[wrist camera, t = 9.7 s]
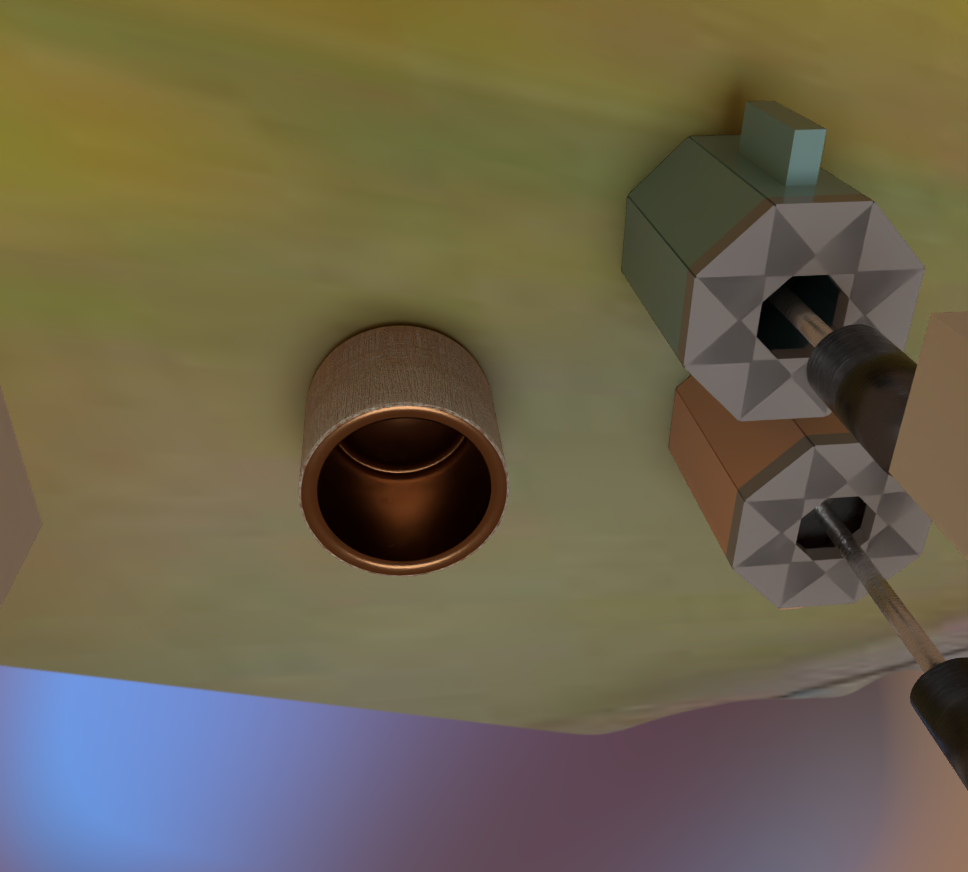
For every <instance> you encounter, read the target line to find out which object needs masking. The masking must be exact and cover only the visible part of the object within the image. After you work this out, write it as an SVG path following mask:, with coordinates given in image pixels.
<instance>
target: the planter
mask: <svg viewBox="0 0 968 872" xmlns="http://www.w3.org/2000/svg"><path fill="white" fill-rule="evenodd" d="M508 497H509V477H508V471H507V466H506V462H505V457H504V453H503V449H502V444H501V439H500V434H499V429H498V424H497V419H496V414H495V409H494V405H493V400H492V395H491V391H490V387H489V384H488V382H487V379H486V377H485V375H484V373H483V371H482V370H481V368H480V366H479V365H478V363H477V362H476V361H475V359H474V358H473V357H472V356H471V355H470V354H469V352H468V351H466V350H465V349H464V348H463V347H462V346H461V345H459V344H458V343H457V342H455V341H454V340H452V339H450V338H448V337H447V336H445V335H443V334H440V333H438V332H435V331H433V330H429V329H426V328H421V327H416V326H407V325H394V326H384V327H379V328H374V329H371V330H368V331H365V332H362V333H360V334H357V335H355V336H353V337H351V338H350V339H348V340H346V341H345V342H343V343H342V344H340V345H339V346H338V347H337V348H335V349H334V350H333V351H332V352H331V353H330V354H329V355H328V356H327V357H326V358H325V360H324V361H323V362H322V364H321V365H320V367H319V368H318V370H317V372H316V374H315V376H314V378H313V380H312V382H311V385H310V388H309V391H308V395H307V401H306V410H305V421H304V434H303V446H302V458H301V468H300V477H299V503H300V509H301V512H302V516H303V518H304V521H305V523H306V525H307V527H308V529H309V530H310V532H311V534H312V535H313V536H314V538H315V539H316V540H317V541H318V542H319V544H320V545H321V546H322V547H323V548H324V549H325V550H327V551H328V552H329V553H330V554H332V555H333V556H334V557H336V558H337V559H339V560H341V561H342V562H344V563H346V564H348V565H350V566H352V567H355V568H357V569H360V570H363V571H366V572H370V573H374V574H378V575H385V576H417V575H423V574H428V573H432V572H436V571H439V570H442V569H445V568H448V567H450V566H452V565H455V564H457V563H458V562H460V561H462V560H464V559H465V558H467V557H469V556H470V555H471V554H473V553H474V552H475V551H477V550H478V549H479V548H480V547H481V546H482V545H483V544H485V542H486V541H487V540H488V539H489V538H490V537H491V536H492V534H493V533H494V532H495V530H496V529H497V527H498V525H499V524H500V522H501V520H502V518H503V515H504V513H505V510H506V507H507V503H508Z"/></svg>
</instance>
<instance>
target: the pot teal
mask: <svg viewBox="0 0 968 872" xmlns="http://www.w3.org/2000/svg"><path fill="white" fill-rule="evenodd" d="M826 130H827V129H825V128H823V127H822V126H820V125H818V124H816V123H814V122H812V121H810V120H809V119H807V118H805V117H803V116H801V115H799V114H797V113H796V112H794V111H792V110H790V109H788V108H786V107H784V106H783V105H781V104H779V103H777V102H775V101H746V103H745V110H744V118H743V125H742V132H741V135H718V136H690V138H689V137H688V138H687V139H686V140H685V141H683V142H682V143H681V144H680V145H679V146H678V147H677V148H676V149H675V150H674V151H673V152H672V153H671V154H670V155H669V156H668V157H667V158H666V159H665V160H664V161H663V162H662V163H661V164H660V165H659V166H658V167H657V168H655V169H654V170H653V171H652V172H651V173H650V174H649V175H648V176H647V177H646V178H645V179H644V180H643V181H642V182H641V183H640V184H639V185H638V186H637V187H636V188H635V189H634V190H633V191H632V192H631V193H630V194H628V195H629V196H628V197H627V207H626V219H625V232H624V244H623V256H622V268H621V271H622V273H623V274H624V276H625V278H626V279H627V281H628V282H629V284H630V285H631V287H632V288H633V290H634V291H635V293H636V294H637V296H638V297H639V299H640V301H641V302H642V304H643V305H644V307H645V308H646V310H647V311H648V313H649V314H650V316H651V317H652V319H653V321H654V322H655V324H656V325H657V327H658V328H659V330H660V331H661V333H662V334H663V336H664V337H665V339H666V340H667V342H668V344H669V345H670V347H671V348H672V350H673V351H674V353H675V354H676V356H677V357H678V359H679V360H680V362H681V363H682V365H683V367H684V368H685V369H686V370H687V371H688V372H689V373H690V374H691V375H692V376H693V377H694V378H695V379H696V380H697V381H698V382H699V383H700V384H701V385H702V386H703V387H704V388H705V389H706V390H707V391H708V392H710V393H711V394H712V395H713V396H714V397H715V398H716V399H717V400H718V401H719V402H720V403H721V404H722V405H723V406H724V407H725V408H726V409H727V410H728V411H729V412H730V413H731V414H732V415H733V416H734V417H735V418H736V419H737V420H738V421H758V420H776V419H794V418H812V417H826V415H827V416H828V415H829V414H831V413H832V411H831V410H830V409H829V408H828V407H827V406H826V405H825V403H824V402H823V401H822V400H821V399H820V398H819V397H818V395H817V394H816V393H815V392H814V391H813V390H812V388H811V387H810V385H809V383H808V380H807V375H806V369H807V363H808V360H809V357H810V355H811V353H812V351H813V349H814V348H815V347H814V346H813V345H812V344H811V343H810V342H809V341H808V340H807V339H806V338H805V337H804V336H803V335H802V334H801V333H800V332H799V331H798V330H797V329H796V328H795V327H794V325H793V324H792V323H791V322H790V321H789V320H788V319H787V318H786V317H785V316H784V315H783V314H782V313H781V312H780V311H779V310H778V309H777V308H776V307H775V306H774V305H773V304H772V305H771V306H770V307H768V308H766V309H765V310H763V311H761V306H762V302H763V301H764V300H765V299H767V298H768V297H769V296H770V295H771V294H772V293H774V292H775V291H776V290H777V289H778V288H779V287H780V286H782V285H783V284H784V283H785V282H786V281H787V280H789V279H790V278H791V277H792V276H798V278H797V279H796V281H795V282H794V284H793V285H792V286H791V288H790V290H791V291H792V292H793V293H794V294H795V295H796V296H797V297H798V298H800V299H801V300H802V301H803V302H804V303H805V304H806V305H807V306H808V307H809V308H810V309H811V310H812V311H813V312H814V313H815V314H816V315H817V316H818V317H819V318H820V319H821V320H822V321H823V322H824V323H825V324H826V325H828V326H829V327H830V328H831V329H832V330H833V331H834V330H836V329H839V328H841V327H844V326H848V325H853V324H863V325H868V326H871V327H873V328H876V329H877V330H878V331H880V332H881V333H882V334H883V335H884V336H885V337H887V338H888V339H889V340H890V341H891V342H892V343H893V344H895V345H896V346H897V347H898V348H899V349H900V350H901V351H903V352H904V348H905V344H906V340H907V337H908V333H909V329H910V325H911V321H912V317H913V314H914V310H915V306H916V302H917V298H918V294H919V290H920V287H921V283H922V279H923V275H924V271H925V268H924V267H925V266H924V265H923V264H922V262H921V261H920V260H919V258H918V257H917V256H916V255H915V253H914V252H913V251H912V249H911V248H910V247H909V245H908V244H907V243H906V242H905V240H904V239H903V238H902V236H901V235H900V234H899V232H898V231H897V230H896V229H895V227H894V226H893V225H892V223H891V222H890V221H889V219H888V218H887V217H886V216H885V214H884V213H883V212H882V210H881V209H880V208H879V206H878V205H877V204H876V203H875V202H874V201H873V200H871V199H870V198H868V197H866V196H865V195H863V194H862V193H860V192H858V191H857V190H855V189H854V188H852V187H851V186H849V185H847V184H846V183H844V182H843V181H841V180H839V179H838V178H836V177H835V176H833V175H832V174H830V173H828V172H827V171H825V170H824V169H822V168H820V162H821V157H822V151H823V146H824V141H825V135H826Z"/></svg>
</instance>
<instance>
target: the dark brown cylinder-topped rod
mask: <svg viewBox="0 0 968 872" xmlns="http://www.w3.org/2000/svg"><path fill="white" fill-rule="evenodd" d="M797 278H798V276H792V277H791V278H790V279H789V280H787V281H786V282H785V283H784V284H783V285H782V286H780V287H779V288H778V289H777V290H776V291H775V292H774V293H772V294H771V295H770V296H769V297H768V298H767V299H765V300H764V301H763V302H762V306H761V311H763V310H765V309H766V308H768V307H770V306H771V305H772V304H773V305H774V306H775V307H776V308H777V309H778V310H779V311H780V312H781V313H782V314H783V315H784V316H785V317H786V318H787V319H788V320H789V321H790V322H791V323H792V324H793V325H794V327H795V328H796V329H797V330H798V331H799V332H800V333H801V334H802V335H803V336H804V337H805V338H806V339H807V340H808V341H809V342H810V343H811V344H812V345H813V346H814V347H815V348H814V349H813V351H812V353H811V355H810V357H809V360H808V363H807V369H806V375H807V380H808V383H809V385H810V387H811V388H812V390H813V391H814V392H815V393H816V394H817V395H818V397H819V398H820V399H821V400H822V401H823V402H824V403H825V405H826V406H827V407H828V408H829V409H830V410H831V411H832V412H833V414H834V415H835V416H836V417H837V418H838V419H839V420H840V422H841V423H842V424H843V425H844V426H845V427H846V428H847V430H848V431H849V432H850V433H851V434H852V435H853V436H854V438H855V439H856V440H857V441H858V442H859V443H860V444H861V446H862V447H863V448H864V449H865V450H866V451H867V452H868V454H869V455H870V456H871V457H872V458H873V459H874V460H875V462H876V463H877V464H878V465H879V466H880V467H881V468H882V470H883V471H884V472H886V473H887V474H888V475H890V476H892V475H891V474H890V473H889V468H890V464H891V461H892V457H893V453H894V450H895V446H896V442H897V438H898V435H899V431H900V427H901V424H902V420H903V416H904V412H905V409H906V405H907V401H908V398H909V394H910V390H911V386H912V383H913V379H914V375H915V372H916V368H917V364H916V363H915V362H914V361H913V360H912V359H910V358H909V357H908V356H907V355H906V354H905V353H904V352H903V351H901V350H900V349H899V348H898V347H897V346H896V345H895V344H893V343H892V342H891V341H890V340H889V339H888V338H887V337H885V336H884V335H883V334H882V333H881V332H880V331H878V330H877V329H876V328H873V327H871V326H868V325H863V324H853V325H848V326H844V327H841V328H839V329H836V330H834V331H833V330H832V329H831V328H830V327H829V326H828V325H826V324H825V323H824V322H823V321H822V320H821V319H820V318H819V317H818V316H817V315H816V314H815V313H814V312H813V311H812V310H811V309H810V308H809V307H808V306H807V305H806V304H805V303H804V302H803V301H802V300H801V299H800V298H798V297H797V296H796V295H795V294H794V293H793V292H792V291H791V290H790V288H791V286H792V285H793V284H794V282H795V281H796V279H797ZM892 477H893V476H892Z"/></svg>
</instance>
